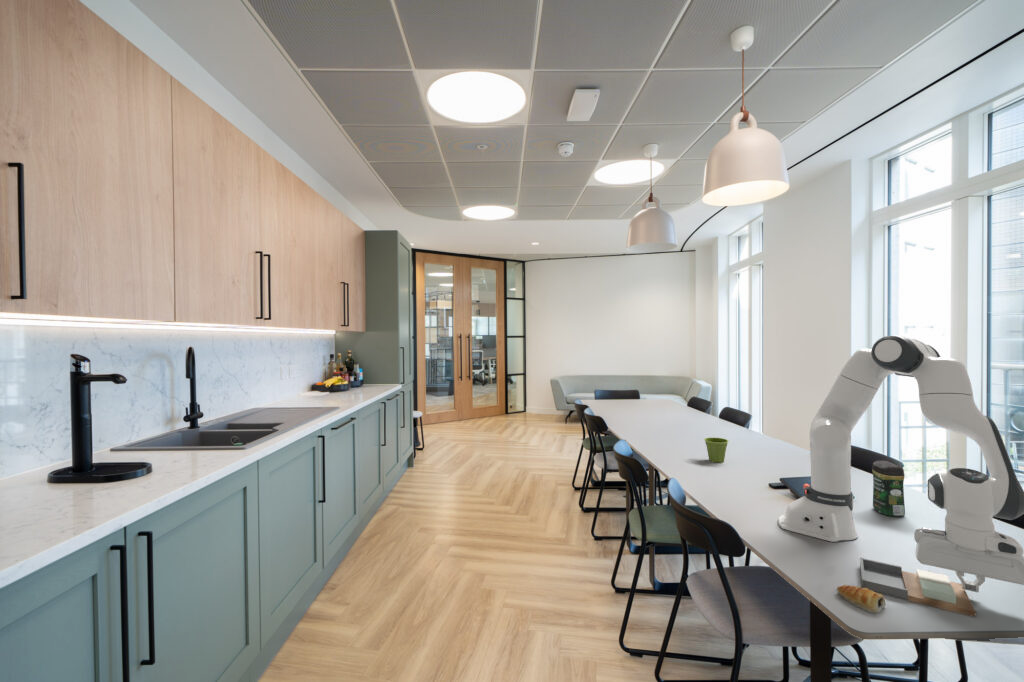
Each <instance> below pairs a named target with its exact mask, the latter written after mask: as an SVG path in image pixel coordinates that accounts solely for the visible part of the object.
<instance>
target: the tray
mask: <svg viewBox="0 0 1024 682" xmlns="http://www.w3.org/2000/svg"><path fill="white" fill-rule="evenodd" d="M859 566H860V567H859V569H860V577H861V578H860V579H861V588H868V589H869V590H871V591H873V592H876V593H878V594H882V595H883V596H884V595H885V596H888V597H892V598H897V599H902V600H905V601H908V590H907V589H905V586H904V582H903V579H902V571H903V569H902V566H900V565H896V564H891V563H887V562H882V561H877V560H873V559H868V558H863V557H860V558H859Z"/></svg>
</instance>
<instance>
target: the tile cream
mask: <svg viewBox="0 0 1024 682" xmlns="http://www.w3.org/2000/svg"><path fill="white" fill-rule="evenodd" d="M916 574H917V579H918V582H919V585H920V579H921V580H926V581H930V582H935V583H939V584H944V585H949V586H951V583H950V582H951V580H950V579H949V577H948V575H946V574H942V573H937V572H936V573H935V572H932V571H927V570H924V569H919V568H918V569H917V568H916Z"/></svg>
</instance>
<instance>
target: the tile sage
mask: <svg viewBox="0 0 1024 682" xmlns="http://www.w3.org/2000/svg"><path fill="white" fill-rule="evenodd" d="M920 589H921V592H922V595H923V596H924V597H929V598H933V599H937V600H941V601H945V602H950V603H954V604H956V594H955V592H954V590H953V588H952V586H949V585H944V584H939V583H935V582H930V581H926V580H921V579H920Z"/></svg>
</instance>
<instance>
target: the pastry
mask: <svg viewBox="0 0 1024 682" xmlns="http://www.w3.org/2000/svg"><path fill="white" fill-rule="evenodd" d="M836 588H837V591H838V594H839V595H840V597H842V598H843V599H844V600H847V601H848V602H849V603H850V604H852V605H855V606H856V607H859V608H861V609H863V610H865V611H867V612H870V613H873V614H878V613H880V612H881V611H882V610H883V609H884V608H885V607H886V606H887V602H886V598H885V597H884V594H880V593H876V592H873V591H871V590H869V589H868V588H862V587H860V586H855V585H848V584H844V585H841V586H837V587H836Z"/></svg>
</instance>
